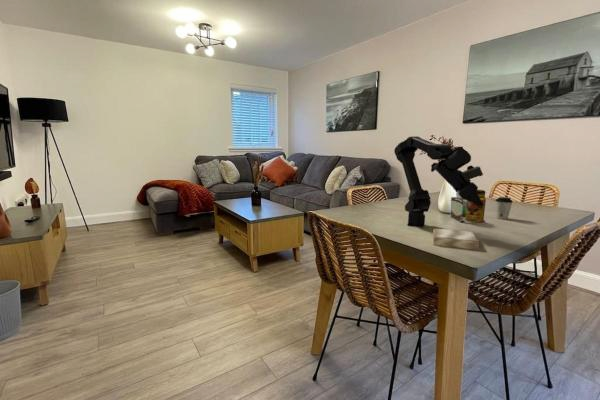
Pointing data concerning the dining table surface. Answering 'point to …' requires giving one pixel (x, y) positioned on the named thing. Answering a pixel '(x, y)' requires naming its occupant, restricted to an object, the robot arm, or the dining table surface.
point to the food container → (458, 208)
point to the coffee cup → (503, 207)
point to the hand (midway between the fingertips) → (480, 204)
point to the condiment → (475, 210)
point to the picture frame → (455, 239)
